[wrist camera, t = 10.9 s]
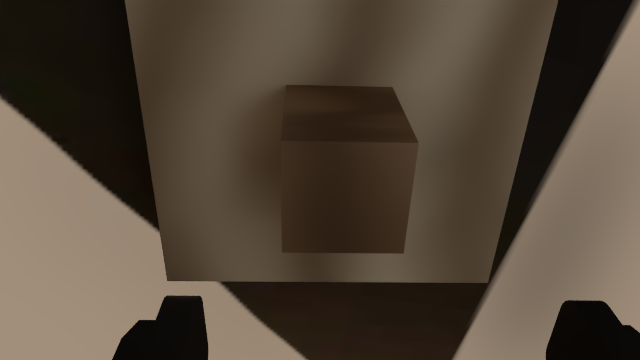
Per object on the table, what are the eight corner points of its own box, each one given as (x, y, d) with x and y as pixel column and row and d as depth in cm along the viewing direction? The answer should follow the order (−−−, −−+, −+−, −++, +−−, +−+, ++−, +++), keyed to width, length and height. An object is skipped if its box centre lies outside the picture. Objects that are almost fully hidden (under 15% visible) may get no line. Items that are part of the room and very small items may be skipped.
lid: (564, -73, 17) (673, -61, 12) (482, 271, 24) (529, 368, 19) (119, -88, 17) (38, -82, 12) (171, 269, 24) (135, 369, 19)
